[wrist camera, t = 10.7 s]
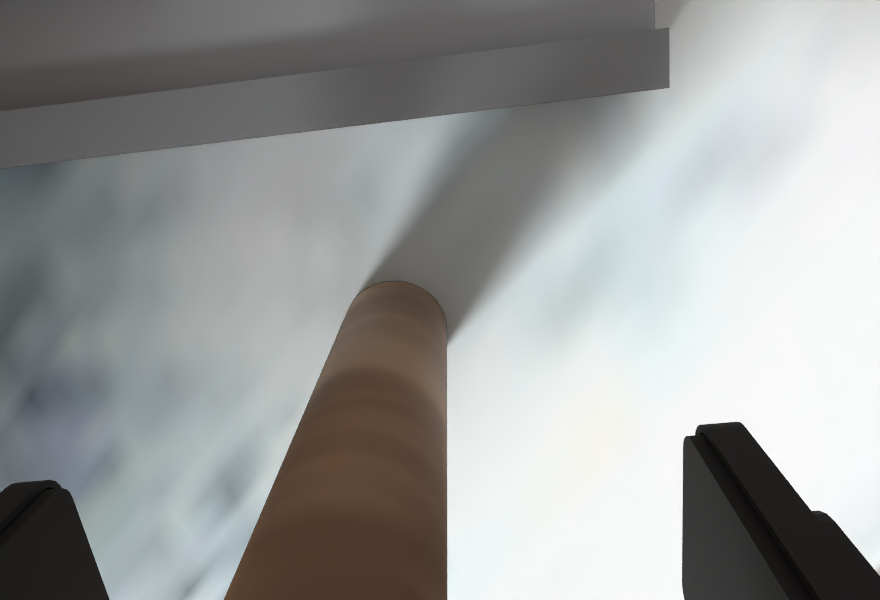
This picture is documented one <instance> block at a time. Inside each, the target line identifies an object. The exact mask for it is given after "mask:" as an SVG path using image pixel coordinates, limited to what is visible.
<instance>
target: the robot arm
mask: <svg viewBox="0 0 880 600" xmlns="http://www.w3.org/2000/svg"><path fill="white" fill-rule="evenodd" d="M682 587H683V594H684V599H685V600H880V576H879V575H878V573H877V572H876V571H875V570H874V569H873V567H872V566H871V565H870V564H869V562H868V561H867V560H866V559H865V558H864V556H863V555H862V554H861V553H860V552H859V550H858V549H857V548H856V547H855V545H854V544H853V543H852V542H851V541H850V539H849V538H848V537H847V536H846V535H845V533H844V532H843V531H842V530H841V528H840V527H839V526H838V525H837V524H836V522H835V521H834V520H833V519H832V518H831V517H830V516H828V515H827V514H826V513H824V512H821V511H811V510H810V509H809V507H808V506H807V505H806V504H805V502H804V501H803V500H802V499H801V497H800V496H799V495H798V493H797V492H796V491H795V490H794V488H793V487H792V486H791V485H790V483H789V482H788V481H787V480H786V478H785V477H784V476H783V474H782V473H781V472H780V471H779V469H778V468H777V467H776V466H775V464H774V463H773V462H772V460H771V459H770V458H769V457H768V455H767V454H766V453H765V452H764V450H763V449H762V448H761V447H760V445H759V444H758V443H757V441H756V440H755V439H754V438H753V436H752V435H751V434H750V433H749V431H748V430H747V429H746V428H745V426H744V425H743V424H742V423H741V422H729V423H717V424H705V425H699V426H698V427H697V429H696V433H695V436H686V437H685V439H684V444H683V544H682ZM0 600H109V597H108V594H107V592H106V589H105V586H104V583H103V581H102V578H101V575H100V572H99V570H98V567H97V564H96V561H95V559H94V556H93V553H92V550H91V548H90V545H89V542H88V539H87V536H86V534H85V531H84V528H83V525H82V523H81V520H80V517H79V514H78V512H77V509H76V506H75V503H74V501H73V498H72V496H71V494H70V492H69V491H67V490H66V489H63V488H61V486H60V485H59V484H58V483H57V482H56V481H52V480H44V481H32V482H20V483H14V484H11V485H9V486H8V487H6V488H5V489H4V490H3V491H2V492H1V493H0Z"/></svg>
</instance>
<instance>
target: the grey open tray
mask: <svg viewBox="0 0 880 600" xmlns="http://www.w3.org/2000/svg"><path fill="white" fill-rule="evenodd" d="M664 88H669V28H663V29H655V16H654V0H0V169H2V168H10V167H18V166H27V165H35V164H43V163H51V162H60V161H68V160H76V159H85V158H93V157H101V156H109V155H118V154H126V153H134V152H142V151H151V150H159V149H167V148H176V147H184V146H192V145H200V144H209V143H217V142H225V141H233V140H242V139H250V138H258V137H267V136H275V135H283V134H291V133H300V132H308V131H316V130H324V129H333V128H341V127H349V126H358V125H366V124H374V123H382V122H391V121H399V120H407V119H415V118H424V117H432V116H440V115H448V114H457V113H465V112H473V111H482V110H490V109H498V108H506V107H515V106H523V105H531V104H539V103H548V102H556V101H564V100H573V99H581V98H589V97H597V96H606V95H614V94H622V93H630V92H639V91H647V90H655V89H664Z"/></svg>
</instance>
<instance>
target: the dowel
mask: <svg viewBox="0 0 880 600" xmlns="http://www.w3.org/2000/svg"><path fill="white" fill-rule="evenodd" d="M224 600H447V325H446V320H445V316H444V313H443V311H442V309H441V307H440V305H439V304H438V302H437V301H436V300H435V299H434V298H433V297H432V296H431V295H430V294H429V293H428V292H427V291H425V290H424V289H422V288H420V287H418V286H416V285H414V284H411V283H407V282H402V281H387V282H381V283H378V284H375V285H373V286H371V287H369V288H367V289H365V290H364V291H363V292H361V293H360V294H359V295H358V296H357V297H356V298H355V299H354V301H353V302H352V303H351V305H350V307H349V309H348V311H347V313H346V316H345V318H344V320H343V323H342V325H341V327H340V330H339V332H338V334H337V337H336V339H335V341H334V344H333V346H332V348H331V351H330V353H329V355H328V358H327V360H326V362H325V365H324V367H323V369H322V372H321V374H320V376H319V379H318V381H317V383H316V386H315V388H314V390H313V393H312V395H311V397H310V400H309V402H308V404H307V407H306V409H305V411H304V414H303V416H302V418H301V421H300V423H299V425H298V428H297V430H296V432H295V435H294V437H293V439H292V442H291V444H290V447H289V449H288V451H287V454H286V456H285V458H284V461H283V463H282V465H281V468H280V470H279V472H278V475H277V477H276V479H275V482H274V484H273V486H272V489H271V491H270V493H269V496H268V498H267V500H266V503H265V505H264V507H263V510H262V512H261V514H260V517H259V519H258V521H257V524H256V526H255V528H254V531H253V533H252V535H251V538H250V540H249V542H248V545H247V547H246V549H245V552H244V554H243V556H242V559H241V561H240V563H239V566H238V568H237V570H236V573H235V575H234V577H233V580H232V582H231V584H230V587H229V589H228V591H227V594H226V596H225V598H224Z"/></svg>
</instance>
